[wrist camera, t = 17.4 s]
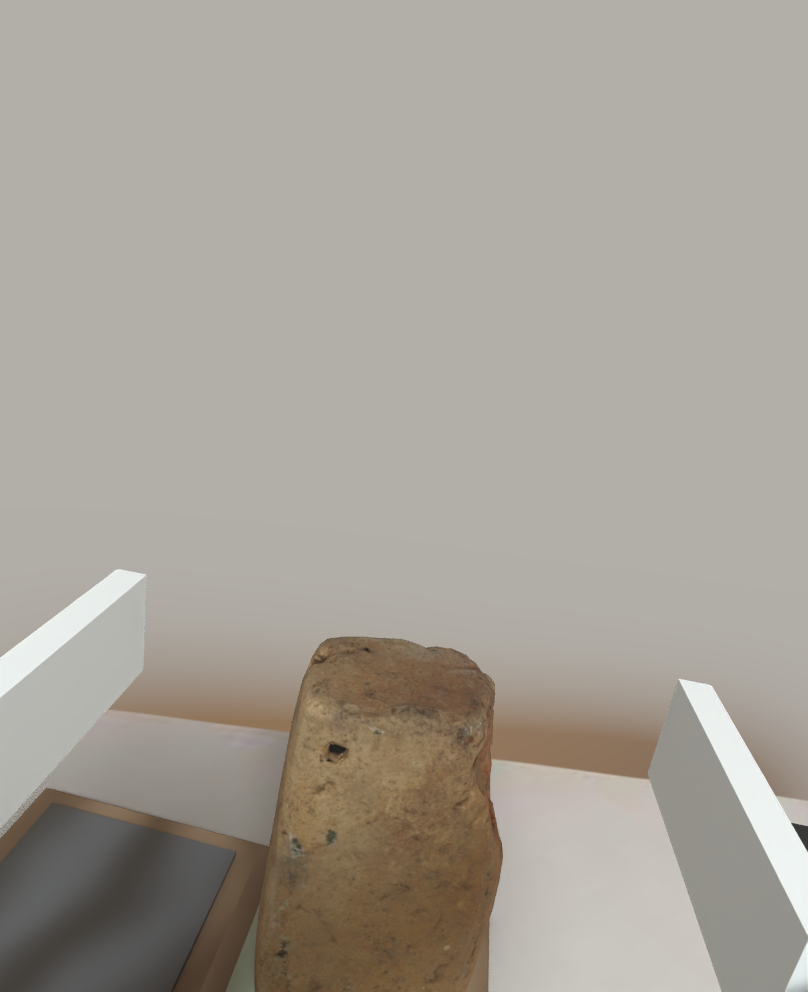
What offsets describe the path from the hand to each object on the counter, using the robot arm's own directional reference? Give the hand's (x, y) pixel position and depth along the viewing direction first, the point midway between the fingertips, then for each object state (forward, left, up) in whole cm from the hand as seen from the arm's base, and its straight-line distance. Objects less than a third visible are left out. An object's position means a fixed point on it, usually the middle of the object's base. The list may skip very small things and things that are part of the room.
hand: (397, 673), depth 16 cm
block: (+1, +11, -27) cm, 29 cm away
